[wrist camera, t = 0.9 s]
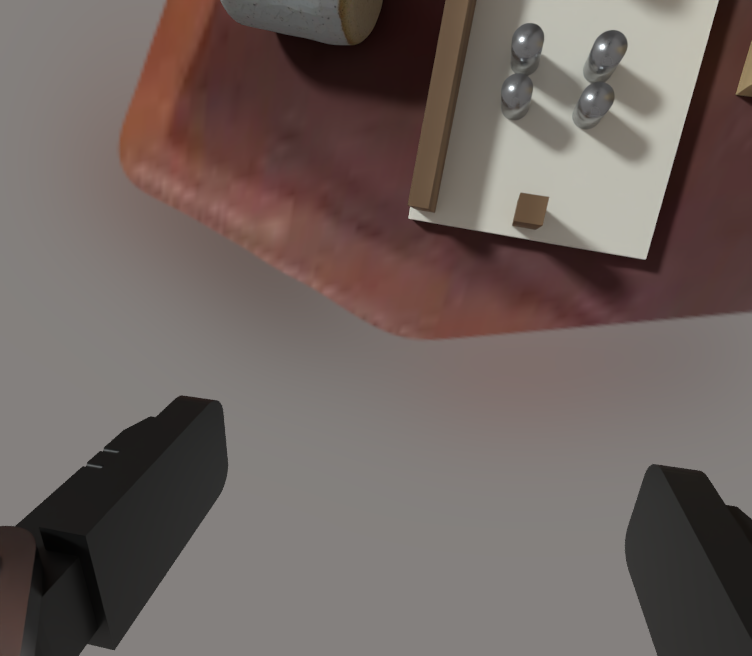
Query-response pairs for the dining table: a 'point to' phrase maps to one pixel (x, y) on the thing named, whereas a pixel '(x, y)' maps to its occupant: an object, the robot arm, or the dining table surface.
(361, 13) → the ceramic mug
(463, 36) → the walnut frame
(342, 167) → the dining table surface
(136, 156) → the dining table surface
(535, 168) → the peg stand
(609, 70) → the pegs
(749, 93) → the oak block
